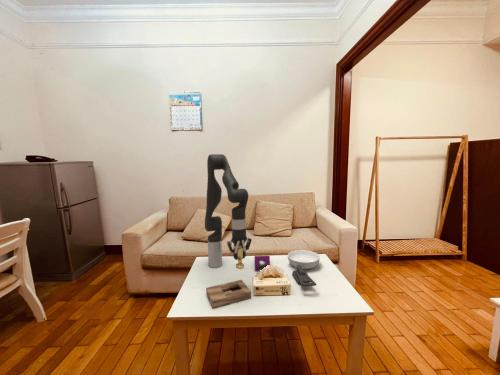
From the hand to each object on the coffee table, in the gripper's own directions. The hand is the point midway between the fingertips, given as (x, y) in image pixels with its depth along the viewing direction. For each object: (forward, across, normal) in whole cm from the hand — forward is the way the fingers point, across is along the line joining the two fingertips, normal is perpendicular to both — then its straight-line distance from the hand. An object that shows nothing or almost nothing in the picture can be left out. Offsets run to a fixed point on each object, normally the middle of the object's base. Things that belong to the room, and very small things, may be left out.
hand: (239, 258), depth 125 cm
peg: (+5, 0, 0) cm, 5 cm away
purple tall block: (+19, -25, -23) cm, 39 cm away
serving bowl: (+19, -50, -10) cm, 54 cm away
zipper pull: (+19, -35, +8) cm, 41 cm away
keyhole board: (+19, +7, +1) cm, 20 cm away
